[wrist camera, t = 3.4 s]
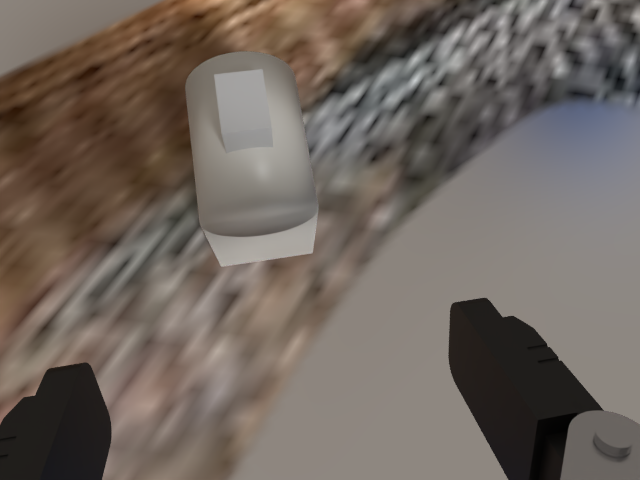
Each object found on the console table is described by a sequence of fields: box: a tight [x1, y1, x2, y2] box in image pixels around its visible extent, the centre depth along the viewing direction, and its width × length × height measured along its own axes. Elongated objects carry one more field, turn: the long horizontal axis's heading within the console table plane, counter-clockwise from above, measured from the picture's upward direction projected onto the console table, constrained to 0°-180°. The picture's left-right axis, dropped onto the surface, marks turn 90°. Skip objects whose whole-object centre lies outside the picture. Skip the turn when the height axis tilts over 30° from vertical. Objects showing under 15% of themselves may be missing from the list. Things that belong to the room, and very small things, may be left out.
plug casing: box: [185, 51, 319, 267], centre depth 22 cm, size 4×6×9 cm
